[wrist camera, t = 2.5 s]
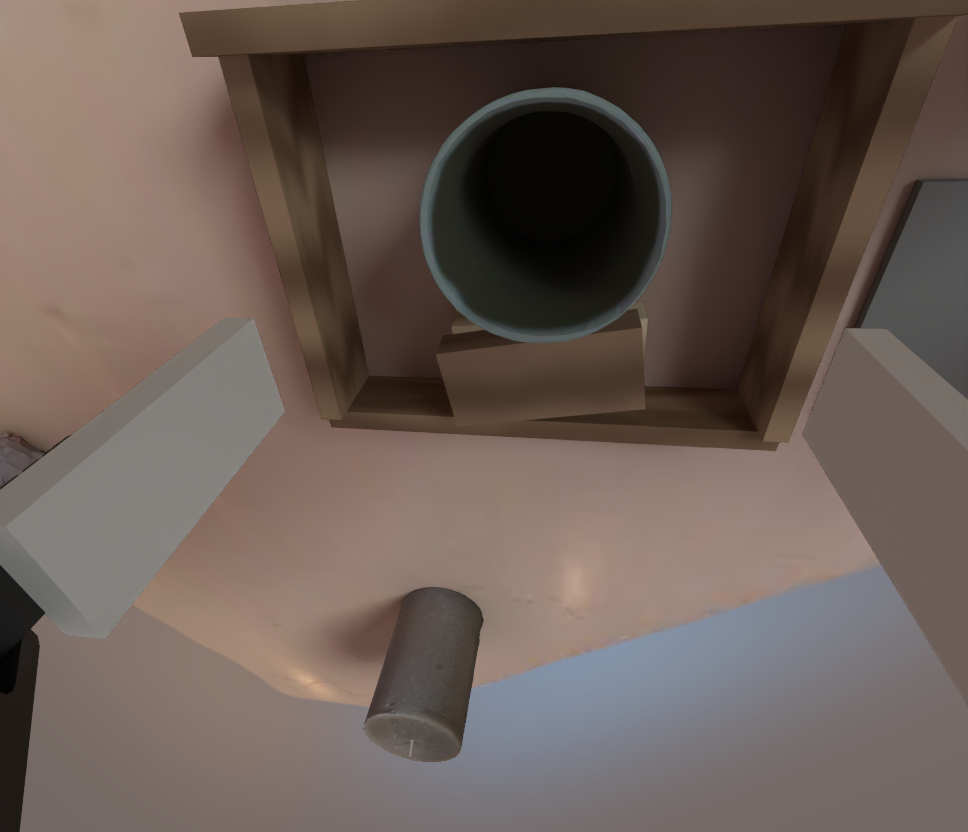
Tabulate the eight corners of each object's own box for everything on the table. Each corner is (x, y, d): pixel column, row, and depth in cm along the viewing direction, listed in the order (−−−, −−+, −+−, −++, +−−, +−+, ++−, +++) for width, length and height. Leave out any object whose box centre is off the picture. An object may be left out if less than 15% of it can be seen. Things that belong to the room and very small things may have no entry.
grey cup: (434, 184, 31) (373, 243, 22) (548, 25, 26) (535, 9, 16) (552, 290, 34) (544, 384, 24) (676, 167, 29) (729, 225, 19)
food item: (-15, 450, 53) (-118, 520, 45) (9, 416, 49) (-98, 485, 41) (104, 526, 58) (31, 601, 50) (134, 500, 54) (60, 576, 47)
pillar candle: (499, 623, 58) (480, 771, 46) (438, 643, 63) (405, 783, 51) (446, 575, 55) (410, 722, 42) (384, 600, 59) (336, 740, 47)
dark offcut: (443, 335, 32) (435, 354, 30) (637, 308, 30) (642, 327, 28) (463, 405, 35) (457, 426, 33) (640, 386, 33) (645, 408, 31)
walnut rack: (270, 22, 27) (178, 12, 21) (894, -19, 23) (1018, -46, 17) (354, 390, 41) (315, 453, 35) (753, 407, 37) (791, 482, 31)
